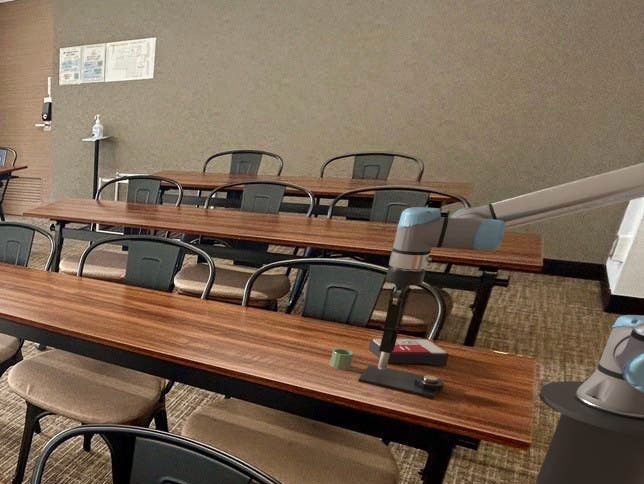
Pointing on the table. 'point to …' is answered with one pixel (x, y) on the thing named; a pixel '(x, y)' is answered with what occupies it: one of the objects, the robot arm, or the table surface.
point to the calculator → (412, 352)
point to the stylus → (383, 360)
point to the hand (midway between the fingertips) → (386, 350)
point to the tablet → (400, 382)
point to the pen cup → (341, 359)
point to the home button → (430, 379)
